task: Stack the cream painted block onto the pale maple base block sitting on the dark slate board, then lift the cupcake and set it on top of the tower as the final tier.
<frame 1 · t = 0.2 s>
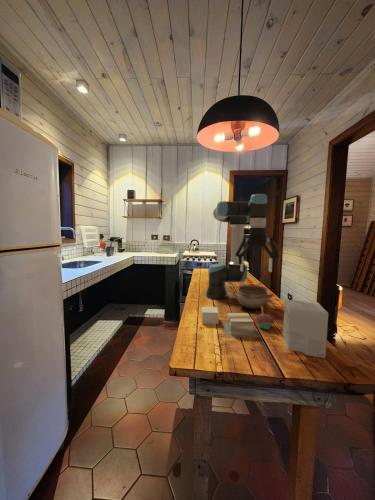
hand: (255, 271, 105), 28 cm above the table, fingers open, 13 cm apart
supplement box: (302, 347, 89), on the table
slate board: (239, 332, 101), on the table
maple base block: (239, 329, 101), point 1 cm above the table, touching slate board
cream block: (209, 322, 111), on the table
cooking pot: (251, 308, 134), on the table
cupcake: (264, 329, 105), on the table
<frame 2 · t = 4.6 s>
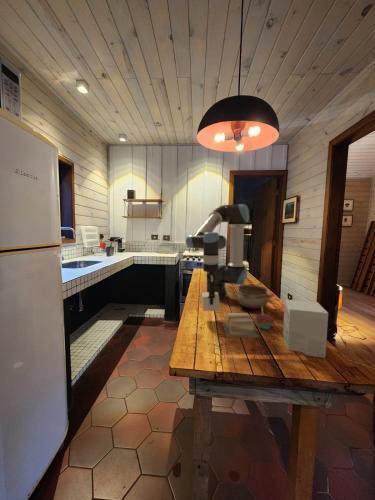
hand: (210, 307, 111), 8 cm above the table, fingers closed on cream block, 8 cm apart
cream block: (210, 307, 111), point 8 cm above the table, touching gripper
everything else where it was.
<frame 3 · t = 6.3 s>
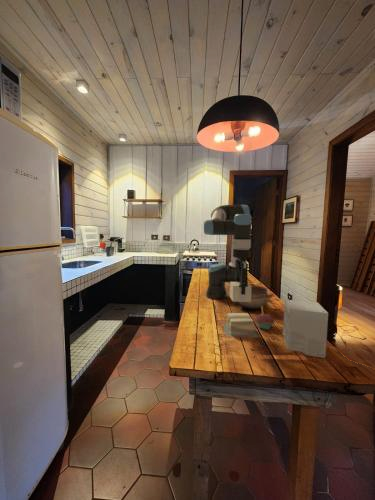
hand: (240, 298, 100), 16 cm above the table, fingers closed on cream block, 8 cm apart
cream block: (239, 298, 100), point 16 cm above the table, touching gripper
everything else where it was.
when the fingers open (8 cm above the table, at t = 8.2 s): cream block stays where it is, resting on maple base block.
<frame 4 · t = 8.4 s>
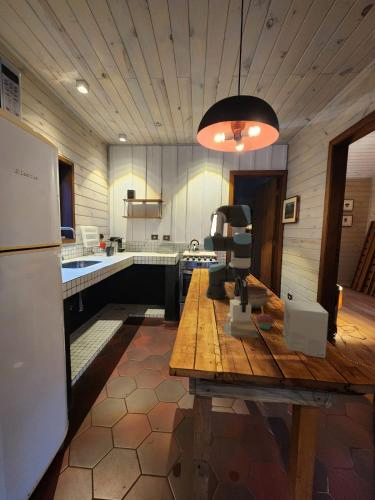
hand: (239, 314, 100), 9 cm above the table, fingers open, 10 cm apart
maple base block: (239, 329, 101), point 1 cm above the table, touching cream block, slate board
cream block: (239, 317, 100), point 7 cm above the table, touching maple base block
everything else where it was.
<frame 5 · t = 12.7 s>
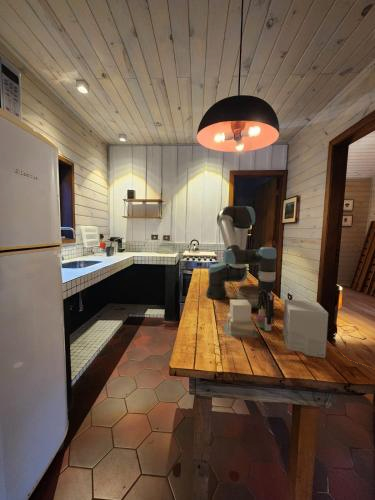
hand: (264, 326, 105), 1 cm above the table, fingers closed on cupcake, 8 cm apart
cupcake: (264, 329, 105), on the table, touching gripper
everything else where it was.
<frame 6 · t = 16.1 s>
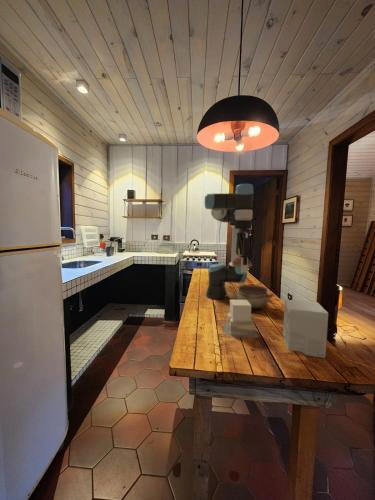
hand: (241, 270, 98), 29 cm above the table, fingers closed on cupcake, 8 cm apart
cupcake: (241, 273, 99), point 28 cm above the table, touching gripper
everything else where it was.
when the fingers open (17 cm above the table, at t = 19.3 s): cupcake drops 2 cm, resting on cream block.
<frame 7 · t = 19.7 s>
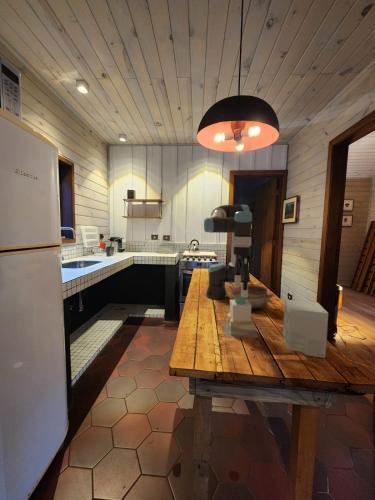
hand: (240, 292, 99), 19 cm above the table, fingers open, 13 cm apart
cream block: (239, 317, 100), point 7 cm above the table, touching cupcake, maple base block
cupcake: (240, 302, 100), point 14 cm above the table, touching cream block
everything else where it was.
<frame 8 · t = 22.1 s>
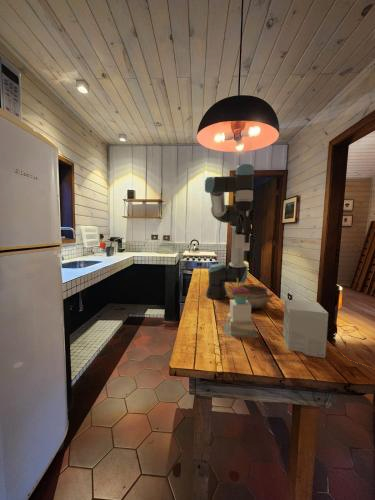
hand: (242, 249, 98), 39 cm above the table, fingers open, 13 cm apart
nothing on the table moved.
at the end: cream block 0.1 cm off-centre on the maple base block, point 6.0 cm above the maple base block's base; cupcake 0.4 cm from the cream block (horizontally); cupcake point 14.0 cm above the table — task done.
